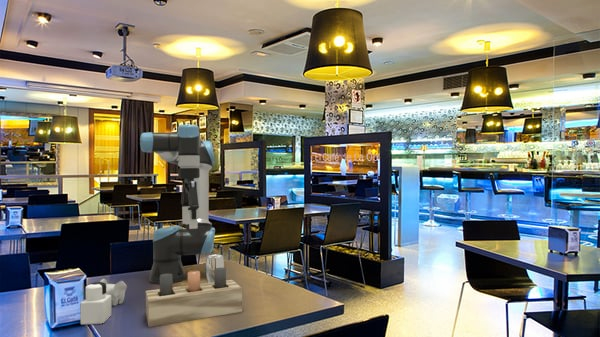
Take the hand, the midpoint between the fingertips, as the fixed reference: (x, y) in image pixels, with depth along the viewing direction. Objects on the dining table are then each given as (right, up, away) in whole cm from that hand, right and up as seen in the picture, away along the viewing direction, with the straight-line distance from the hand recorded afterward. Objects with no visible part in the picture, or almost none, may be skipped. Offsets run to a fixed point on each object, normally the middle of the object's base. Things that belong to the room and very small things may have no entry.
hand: (189, 226), depth 148 cm
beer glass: (+7, -28, +10) cm, 31 cm away
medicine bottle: (-26, -29, -15) cm, 42 cm away
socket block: (+4, -28, -10) cm, 30 cm away
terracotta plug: (+4, -22, -10) cm, 24 cm away
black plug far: (+12, -22, -6) cm, 26 cm away
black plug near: (-4, -22, -14) cm, 26 cm away
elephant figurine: (-29, -29, 0) cm, 41 cm away
